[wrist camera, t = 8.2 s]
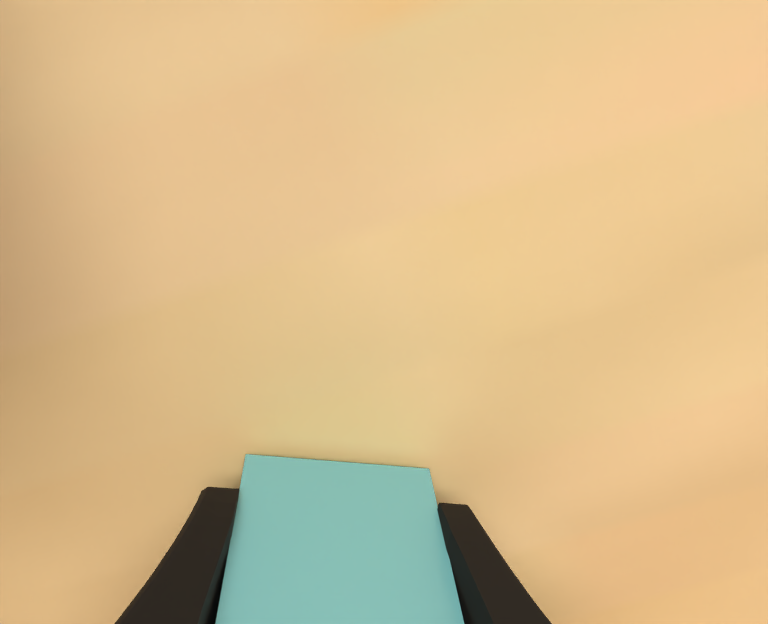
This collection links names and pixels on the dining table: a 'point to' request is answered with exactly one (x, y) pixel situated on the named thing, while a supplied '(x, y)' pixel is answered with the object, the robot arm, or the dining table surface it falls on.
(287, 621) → the cartridge
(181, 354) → the dining table surface
